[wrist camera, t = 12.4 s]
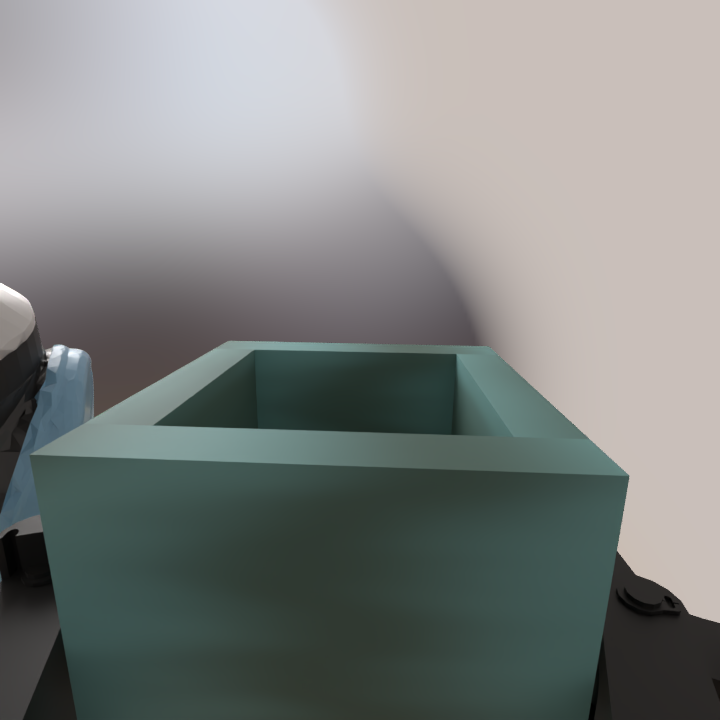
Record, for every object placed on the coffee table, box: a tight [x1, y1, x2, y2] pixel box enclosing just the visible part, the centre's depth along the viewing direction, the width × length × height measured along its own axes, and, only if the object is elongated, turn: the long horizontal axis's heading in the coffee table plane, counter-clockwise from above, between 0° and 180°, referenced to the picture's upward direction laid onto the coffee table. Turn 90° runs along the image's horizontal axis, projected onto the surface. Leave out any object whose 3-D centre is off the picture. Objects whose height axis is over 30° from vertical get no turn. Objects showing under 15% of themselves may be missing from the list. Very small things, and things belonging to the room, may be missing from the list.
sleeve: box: [29, 341, 629, 720], centre depth 10 cm, size 7×7×10 cm
